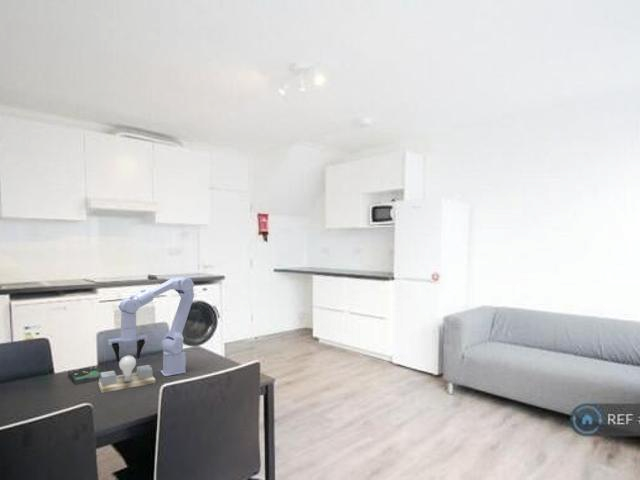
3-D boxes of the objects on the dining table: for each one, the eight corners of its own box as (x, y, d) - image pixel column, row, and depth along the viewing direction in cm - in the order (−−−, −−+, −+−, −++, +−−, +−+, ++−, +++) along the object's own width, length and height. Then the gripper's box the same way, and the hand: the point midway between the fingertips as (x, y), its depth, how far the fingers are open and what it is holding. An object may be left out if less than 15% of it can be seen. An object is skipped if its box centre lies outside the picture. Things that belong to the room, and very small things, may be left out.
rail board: (149, 375, 172) (150, 364, 172) (155, 382, 163) (155, 371, 163) (98, 384, 160) (98, 372, 160) (101, 392, 151) (101, 380, 151)
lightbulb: (138, 381, 159) (138, 355, 160) (122, 385, 155) (122, 358, 155) (132, 378, 164) (132, 352, 164) (116, 381, 159) (116, 355, 159)
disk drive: (67, 377, 170) (75, 386, 159) (67, 371, 170) (75, 379, 159) (93, 372, 177) (102, 380, 166) (93, 366, 177) (102, 373, 166)
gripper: (145, 323, 168) (144, 354, 168) (107, 327, 160) (107, 359, 160) (148, 326, 163) (148, 358, 162) (110, 330, 154) (109, 364, 154)
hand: (128, 359), depth 161 cm, fingers open, 7 cm apart
